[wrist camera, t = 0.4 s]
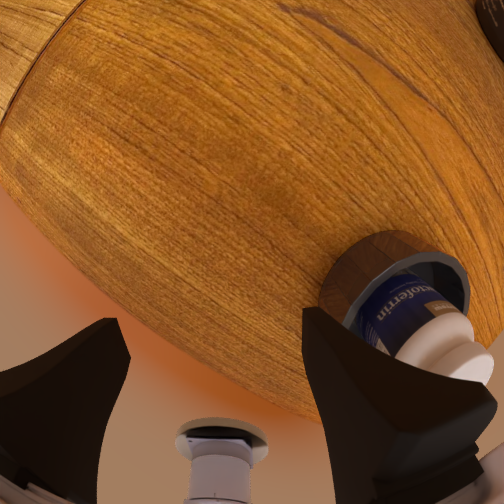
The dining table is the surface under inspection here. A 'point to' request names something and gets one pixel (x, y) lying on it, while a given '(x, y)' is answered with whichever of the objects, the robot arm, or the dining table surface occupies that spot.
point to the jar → (492, 22)
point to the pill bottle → (422, 329)
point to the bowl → (389, 273)
